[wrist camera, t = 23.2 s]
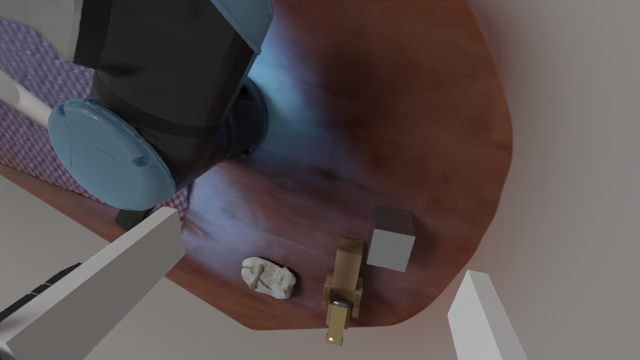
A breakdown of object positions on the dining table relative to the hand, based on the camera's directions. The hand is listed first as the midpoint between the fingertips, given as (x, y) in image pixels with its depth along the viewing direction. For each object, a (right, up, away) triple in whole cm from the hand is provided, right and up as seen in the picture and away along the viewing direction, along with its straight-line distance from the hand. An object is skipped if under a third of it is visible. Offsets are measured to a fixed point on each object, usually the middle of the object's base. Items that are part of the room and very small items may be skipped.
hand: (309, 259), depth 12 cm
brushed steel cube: (+13, -4, +35) cm, 38 cm away
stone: (-10, -17, +47) cm, 51 cm away
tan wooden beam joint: (+6, -16, +42) cm, 45 cm away
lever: (+4, -19, +37) cm, 42 cm away
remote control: (-39, -2, +47) cm, 61 cm away
